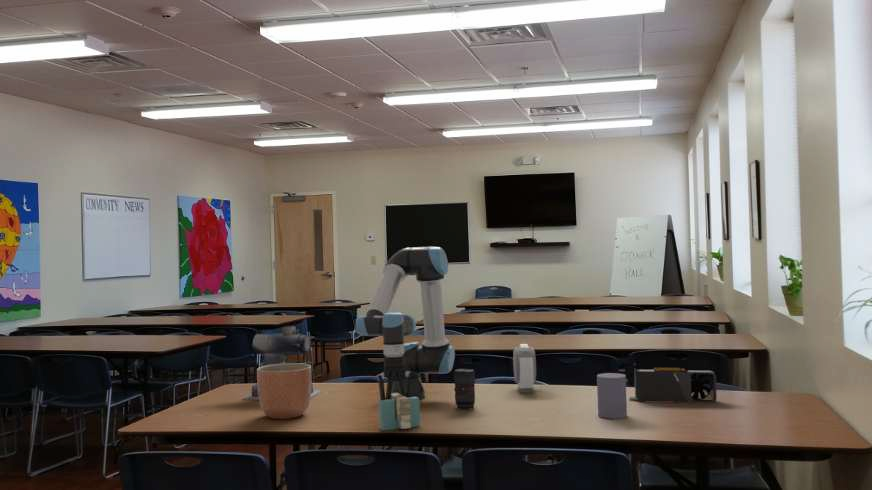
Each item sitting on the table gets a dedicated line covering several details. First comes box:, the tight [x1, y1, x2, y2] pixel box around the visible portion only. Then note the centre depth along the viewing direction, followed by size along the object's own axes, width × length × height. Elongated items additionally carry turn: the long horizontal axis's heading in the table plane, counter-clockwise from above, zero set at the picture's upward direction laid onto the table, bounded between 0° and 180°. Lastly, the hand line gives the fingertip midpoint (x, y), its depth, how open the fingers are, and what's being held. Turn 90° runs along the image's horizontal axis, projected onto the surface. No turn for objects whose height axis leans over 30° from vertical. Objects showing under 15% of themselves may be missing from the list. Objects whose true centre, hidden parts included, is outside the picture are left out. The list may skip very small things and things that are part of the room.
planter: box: [256, 362, 312, 420], centre depth 291 cm, size 21×21×19 cm
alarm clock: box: [512, 343, 537, 394], centre depth 329 cm, size 18×8×20 cm, turn 179°
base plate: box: [378, 397, 421, 431], centre depth 267 cm, size 14×3×10 cm, turn 111°
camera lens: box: [453, 368, 476, 410], centre depth 296 cm, size 8×8×15 cm
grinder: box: [241, 326, 323, 401], centre depth 333 cm, size 18×31×31 cm, turn 79°
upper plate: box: [391, 393, 412, 430], centre depth 267 cm, size 14×3×10 cm, turn 21°
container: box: [596, 372, 628, 420], centre depth 275 cm, size 10×10×15 cm
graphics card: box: [628, 362, 717, 404], centre depth 298 cm, size 33×5×14 cm, turn 76°
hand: (395, 420), depth 271 cm, fingers closed on upper plate, 3 cm apart
